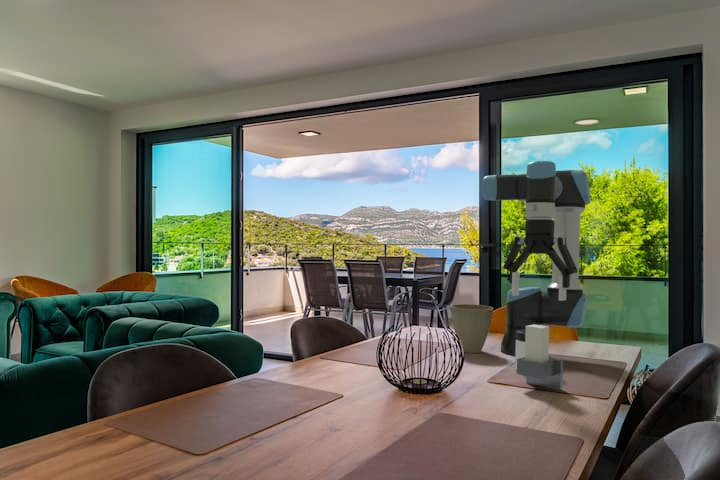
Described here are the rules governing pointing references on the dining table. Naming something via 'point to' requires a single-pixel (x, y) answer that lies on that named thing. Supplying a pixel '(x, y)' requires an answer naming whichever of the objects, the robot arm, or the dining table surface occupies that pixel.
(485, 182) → the robot arm
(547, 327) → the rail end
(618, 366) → the dining table surface
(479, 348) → the plant pot
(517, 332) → the jar
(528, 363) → the cup bracket
